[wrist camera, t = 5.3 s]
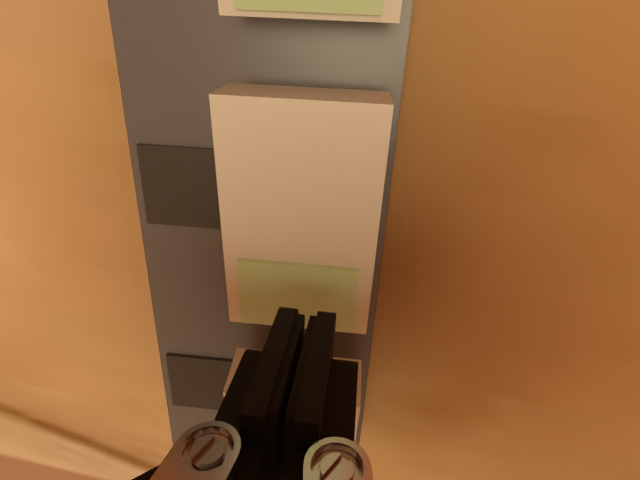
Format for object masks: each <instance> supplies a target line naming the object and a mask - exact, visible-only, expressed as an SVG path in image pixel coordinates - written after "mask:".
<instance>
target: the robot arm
mask: <svg viewBox="0 0 640 480" xmlns="http://www.w3.org/2000/svg"><path fill="white" fill-rule="evenodd" d="M335 328H336V313H332V312H323V311H318V312H317V316H313V315H310V317H309V321H308V325H307V329H306V333H305V337H304V330H305V315H304V314H299V311H298V309H295V308H286V307H279V309H278V311H277V314H276V316H275V319H274V322H273V324H272V327H271V330H270V332H269V335H268V338H267V340H266V343H265V345H264V348H263V351H261V350H253V349H246V350H245V352H244V354H243V356H242V358H241V360H240V363H239V365H238V367H237V369H236V372H235V374H234V376H233V378H232V381H231V383H230V385H229V388H228V390H227V392H226V394H225V397H224V399H223V401H222V403H221V406H220V408H219V410H218V413H217V415H216V417H215V419H214V420H213V421H205V422H202V423H199V424H196V425H194V426H192V427H191V428H189V429H188V430H186V431H185V432H184V433H183V434H182V435H181V436H180V437H179V438H178V440H177V441H176V443H175V444H174V446H173V447H172V448H171V450H170V451H169V453H168V454H167V456H166V457H165V458H164V460H163V461H162V463H161V464H160V465H159V466H157V467H155V468H153V469H151V470H149V471H147V472H145V473H144V474H142V475H140V476H138V477H136V478H134V479H132V480H373V475H372V468H371V464H370V461H369V458H368V456H367V454H366V453H365V451H364V450H363V449H362V448H361V447H360V446H359V445H358V444H356V443H355V442H354V437H355V418H356V399H357V380H358V362H355V361H347V360H338V359H333V355H334V341H335Z"/></svg>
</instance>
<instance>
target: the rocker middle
mask: <svg viewBox="0 0 640 480" xmlns="http://www.w3.org/2000/svg"><path fill="white" fill-rule="evenodd" d="M209 102H210V112H211V123H212V134H213V145H214V156H215V167H216V178H217V189H218V200H219V211H220V222H221V232H222V243H223V254H224V265H225V276H226V287H227V298H228V309H229V320H230V321H232V322H242V323H253V324H263V325H272V324H273V322H274V319H275V316H276V314H277V311H278V309H279V307H286V308H295V309H298V311H299V314H304V315H305V329H307V325H308V321H309V317H310V315H313V316H317V312H318V311H323V312H332V313H336V328H335V331H337V332H347V333H358V334H366V330H367V322H368V314H369V306H370V297H371V289H372V281H373V273H374V265H375V256H376V248H377V240H378V232H379V223H380V215H381V207H382V199H383V191H384V182H385V174H386V166H387V158H388V150H389V141H390V133H391V125H392V117H393V108H394V103H393V100H392V96H391V93H390V91H372V90H355V89H337V88H319V87H301V86H283V85H265V84H247V83H228V84H226V85H224V86H223V87H221V88H219V89H217V90H215V91H214V92H212V93H210V94H209Z"/></svg>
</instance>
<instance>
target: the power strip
mask: <svg viewBox="0 0 640 480" xmlns="http://www.w3.org/2000/svg"><path fill="white" fill-rule="evenodd" d="M412 3H413V0H402V7H401V15H400V23H379V22H357V21H335V20H312V19H290V18H268V17H246V16H223V15H219V8H218V0H108V6H109V13H110V20H111V27H112V33H113V40H114V47H115V54H116V61H117V67H118V74H119V81H120V88H121V94H122V101H123V108H124V115H125V122H126V128H127V135H128V142H129V149H130V155H131V162H132V169H133V176H134V183H135V189H136V196H137V203H138V210H139V216H140V223H141V230H142V237H143V244H144V250H145V257H146V264H147V271H148V277H149V284H150V291H151V298H152V305H153V311H154V318H155V325H156V332H157V338H158V345H159V352H160V359H161V366H162V372H163V379H164V386H165V393H166V399H167V406H168V413H169V420H170V427H171V433H172V440H173V446H174V444H175V443H176V441H177V440H178V438H179V437H180V436H181V435H182V434H183V433H184V432H185V431H186V430H188V429H189V428H191V427H192V426H194V425H196V424H199V423H202V422H205V421H213V420H214V419H215V417H216V415H217V413H218V410H219V408H220V406H221V403H222V401H223V399H224V396H223V390H224V387H225V384H226V381H227V378H228V374H229V371H230V368H231V365H232V362H233V359H234V356H235V353H236V349H237V348H245V349H255V350H263V348H264V345H265V343H266V340H267V338H268V335H269V332H270V330H271V327H272V325H263V324H253V323H242V322H232V321H230V320H229V309H228V298H227V287H226V276H225V265H224V254H223V243H222V232H221V222H220V211H219V200H218V189H217V178H216V167H215V156H214V145H213V134H212V123H211V112H210V102H209V94H210V93H212V92H214V91H215V90H217V89H219V88H221V87H223V86H224V85H226V84H228V83H247V84H265V85H283V86H301V87H319V88H337V89H355V90H372V91H390V93H391V96H392V100H393V103H394V108H393V117H392V125H391V133H390V141H389V150H388V158H387V166H386V174H385V182H384V191H383V199H382V207H381V215H380V223H379V232H378V240H377V248H376V256H375V265H374V273H373V281H372V289H371V297H370V306H369V314H368V322H367V330H366V334H358V333H347V332H337V331H335V341H334V355H333V357H336V358H346V359H356V360H362V367H361V405H360V413H359V420H358V426H357V433H356V440H355V443H356V444H358V445H359V442H360V433H361V425H362V417H363V408H364V400H365V392H366V384H367V375H368V367H369V359H370V351H371V342H372V334H373V326H374V318H375V309H376V301H377V293H378V284H379V276H380V268H381V260H382V251H383V243H384V235H385V227H386V218H387V210H388V202H389V194H390V185H391V177H392V169H393V160H394V152H395V144H396V136H397V127H398V119H399V111H400V103H401V94H402V86H403V78H404V70H405V61H406V53H407V45H408V36H409V28H410V20H411V12H412ZM305 333H306V329H305V330H304V337H305Z"/></svg>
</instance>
